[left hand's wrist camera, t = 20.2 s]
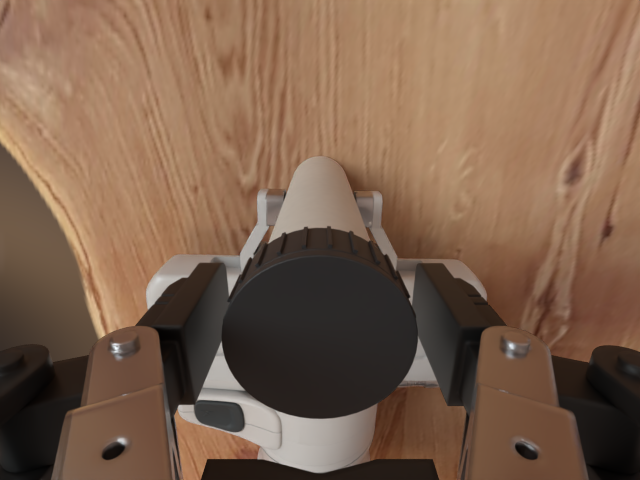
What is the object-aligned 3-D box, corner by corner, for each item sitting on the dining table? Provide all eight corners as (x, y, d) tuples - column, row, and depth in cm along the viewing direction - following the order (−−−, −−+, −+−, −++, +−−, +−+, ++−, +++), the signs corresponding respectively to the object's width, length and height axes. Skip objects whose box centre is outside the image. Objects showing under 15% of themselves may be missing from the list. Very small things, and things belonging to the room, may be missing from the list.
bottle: (284, 166, 26) (218, 282, 9) (337, 148, 25) (371, 233, 9) (303, 217, 27) (276, 399, 10) (354, 200, 27) (411, 362, 10)
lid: (377, 383, 12) (387, 435, 10) (225, 355, 11) (206, 404, 9) (427, 246, 10) (450, 277, 8) (249, 206, 9) (232, 231, 8)
